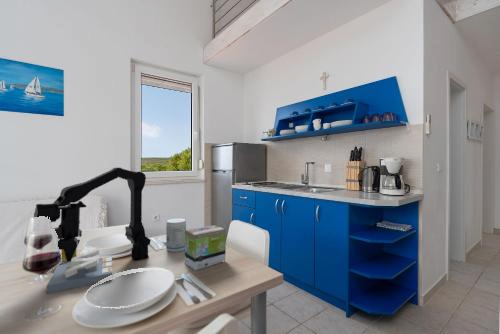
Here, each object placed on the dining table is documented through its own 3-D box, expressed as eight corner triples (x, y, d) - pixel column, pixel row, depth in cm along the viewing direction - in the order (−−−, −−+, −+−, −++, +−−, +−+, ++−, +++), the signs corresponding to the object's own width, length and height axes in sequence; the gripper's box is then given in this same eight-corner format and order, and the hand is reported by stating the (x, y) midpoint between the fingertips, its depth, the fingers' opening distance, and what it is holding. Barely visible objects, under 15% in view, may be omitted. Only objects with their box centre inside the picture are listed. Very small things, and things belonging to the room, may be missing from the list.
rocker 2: (99, 259, 99) (99, 255, 99) (98, 263, 96) (98, 258, 96) (68, 264, 94) (68, 259, 94) (67, 267, 91) (67, 262, 91)
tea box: (195, 271, 98) (195, 234, 98) (184, 264, 106) (184, 229, 105) (226, 261, 108) (226, 228, 108) (213, 255, 116) (213, 224, 115)
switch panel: (111, 262, 108) (111, 249, 108) (112, 279, 91) (112, 264, 91) (57, 271, 98) (57, 257, 98) (47, 293, 82) (46, 276, 82)
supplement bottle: (68, 264, 106) (68, 242, 105) (58, 263, 107) (57, 241, 107) (79, 259, 111) (79, 238, 111) (69, 259, 112) (69, 237, 112)
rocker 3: (98, 261, 94) (97, 256, 93) (98, 264, 91) (96, 260, 90) (67, 273, 89) (65, 269, 89) (66, 277, 86) (64, 273, 86)
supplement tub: (163, 248, 125) (163, 219, 125) (181, 244, 131) (181, 217, 131) (170, 254, 117) (170, 223, 117) (189, 249, 123) (188, 220, 123)
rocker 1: (99, 251, 104) (98, 247, 104) (99, 254, 101) (97, 250, 101) (72, 262, 99) (70, 258, 99) (70, 265, 96) (69, 261, 96)
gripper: (48, 217, 97) (47, 256, 97) (36, 227, 81) (34, 274, 80) (82, 215, 102) (81, 252, 102) (77, 224, 86) (75, 268, 86)
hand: (68, 261), depth 93 cm, fingers closed, pressing on rocker 2
